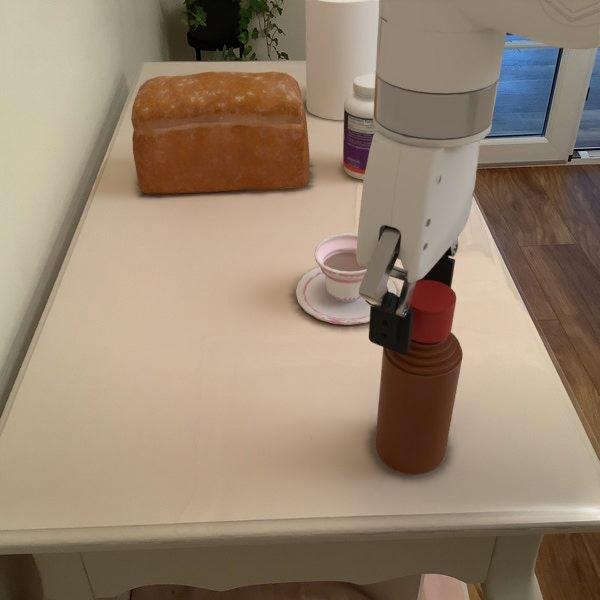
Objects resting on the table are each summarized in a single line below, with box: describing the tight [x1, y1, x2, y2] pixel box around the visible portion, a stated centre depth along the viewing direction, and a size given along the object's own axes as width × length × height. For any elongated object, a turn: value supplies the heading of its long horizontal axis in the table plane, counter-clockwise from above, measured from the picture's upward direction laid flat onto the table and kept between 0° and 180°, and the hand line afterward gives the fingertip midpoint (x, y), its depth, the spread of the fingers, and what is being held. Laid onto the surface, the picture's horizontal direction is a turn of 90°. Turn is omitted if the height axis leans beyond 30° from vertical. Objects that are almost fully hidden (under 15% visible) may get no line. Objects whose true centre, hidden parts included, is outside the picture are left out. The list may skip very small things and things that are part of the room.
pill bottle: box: [342, 74, 377, 181], centre depth 101 cm, size 8×8×14 cm
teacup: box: [295, 231, 397, 326], centre depth 78 cm, size 12×12×6 cm
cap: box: [409, 280, 457, 343], centre depth 52 cm, size 4×4×3 cm
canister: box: [304, 0, 379, 121], centre depth 121 cm, size 14×14×20 cm
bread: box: [130, 71, 310, 195], centre depth 101 cm, size 14×26×16 cm, turn 93°
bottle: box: [374, 332, 464, 475], centre depth 57 cm, size 6×6×17 cm
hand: (410, 318), depth 53 cm, fingers open, 6 cm apart
